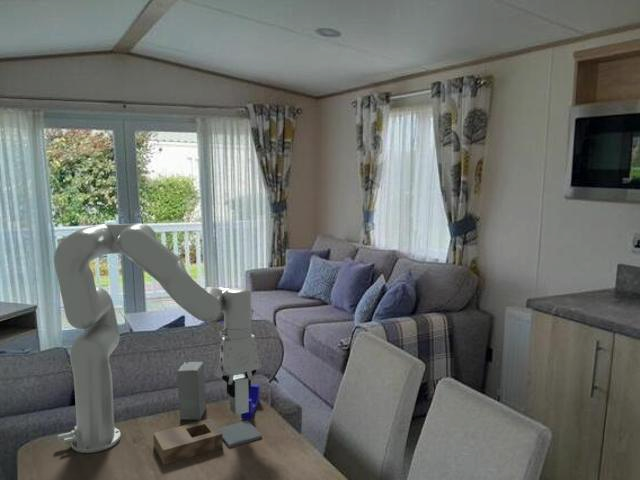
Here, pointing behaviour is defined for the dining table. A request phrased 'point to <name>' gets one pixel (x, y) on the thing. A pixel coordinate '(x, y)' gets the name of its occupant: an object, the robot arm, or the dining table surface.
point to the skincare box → (191, 390)
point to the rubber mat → (239, 433)
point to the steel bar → (240, 395)
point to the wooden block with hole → (187, 441)
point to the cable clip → (252, 401)
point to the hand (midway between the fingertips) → (239, 393)
